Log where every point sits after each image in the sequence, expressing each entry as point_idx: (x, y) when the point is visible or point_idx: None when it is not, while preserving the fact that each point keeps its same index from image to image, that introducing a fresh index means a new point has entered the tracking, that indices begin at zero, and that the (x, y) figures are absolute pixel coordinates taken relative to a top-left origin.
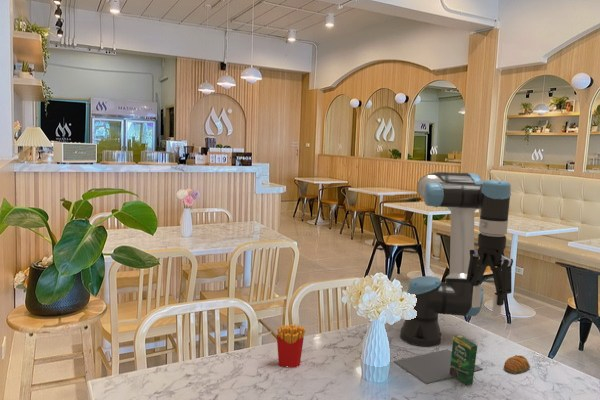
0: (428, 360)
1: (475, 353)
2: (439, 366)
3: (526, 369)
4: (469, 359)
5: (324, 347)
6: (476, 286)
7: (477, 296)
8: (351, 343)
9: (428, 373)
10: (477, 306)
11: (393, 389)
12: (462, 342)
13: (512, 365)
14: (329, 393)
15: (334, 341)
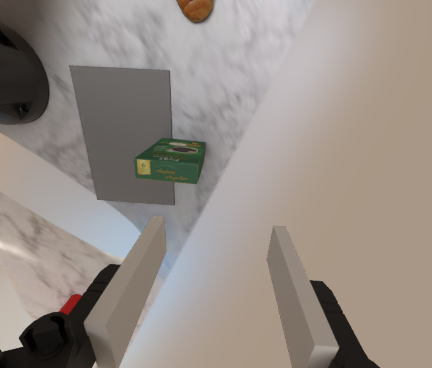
0: (109, 146)
1: (200, 161)
2: (134, 146)
3: None
4: (200, 172)
5: (34, 251)
6: (113, 361)
7: (146, 278)
8: (22, 213)
9: (150, 181)
10: (164, 233)
11: (169, 247)
12: (170, 181)
13: (200, 3)
14: (151, 301)
15: (13, 230)
